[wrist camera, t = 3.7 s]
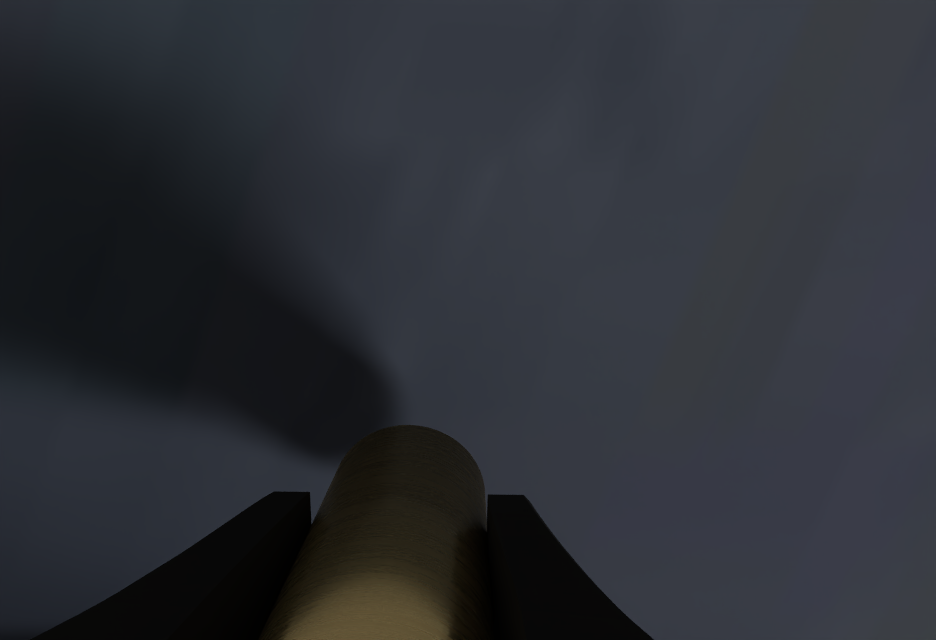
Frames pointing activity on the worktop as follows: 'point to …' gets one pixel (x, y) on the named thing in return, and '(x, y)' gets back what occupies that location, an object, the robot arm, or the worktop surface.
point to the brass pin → (393, 547)
